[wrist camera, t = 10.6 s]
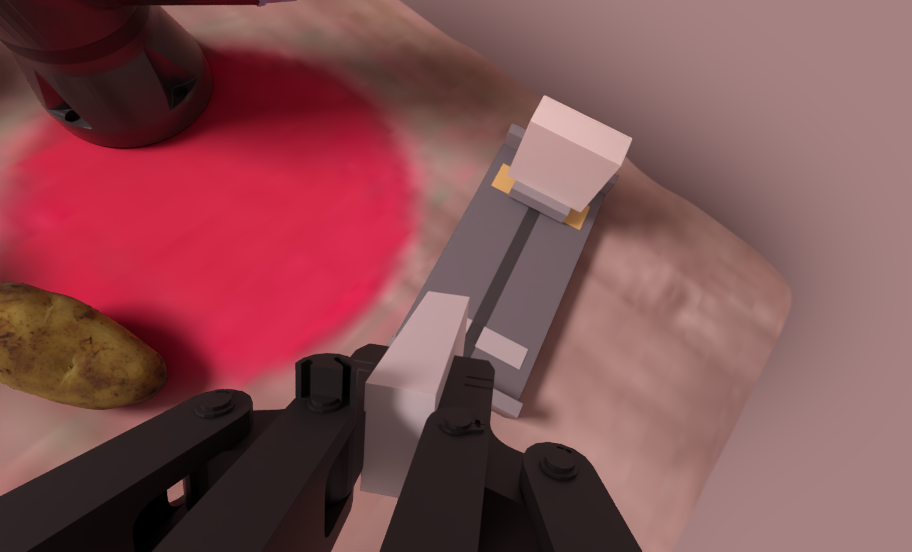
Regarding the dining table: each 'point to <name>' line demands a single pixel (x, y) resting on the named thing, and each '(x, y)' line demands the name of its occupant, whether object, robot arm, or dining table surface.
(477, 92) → the dining table surface
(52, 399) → the potato
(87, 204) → the dining table surface
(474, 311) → the fader deck
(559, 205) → the fader knob
